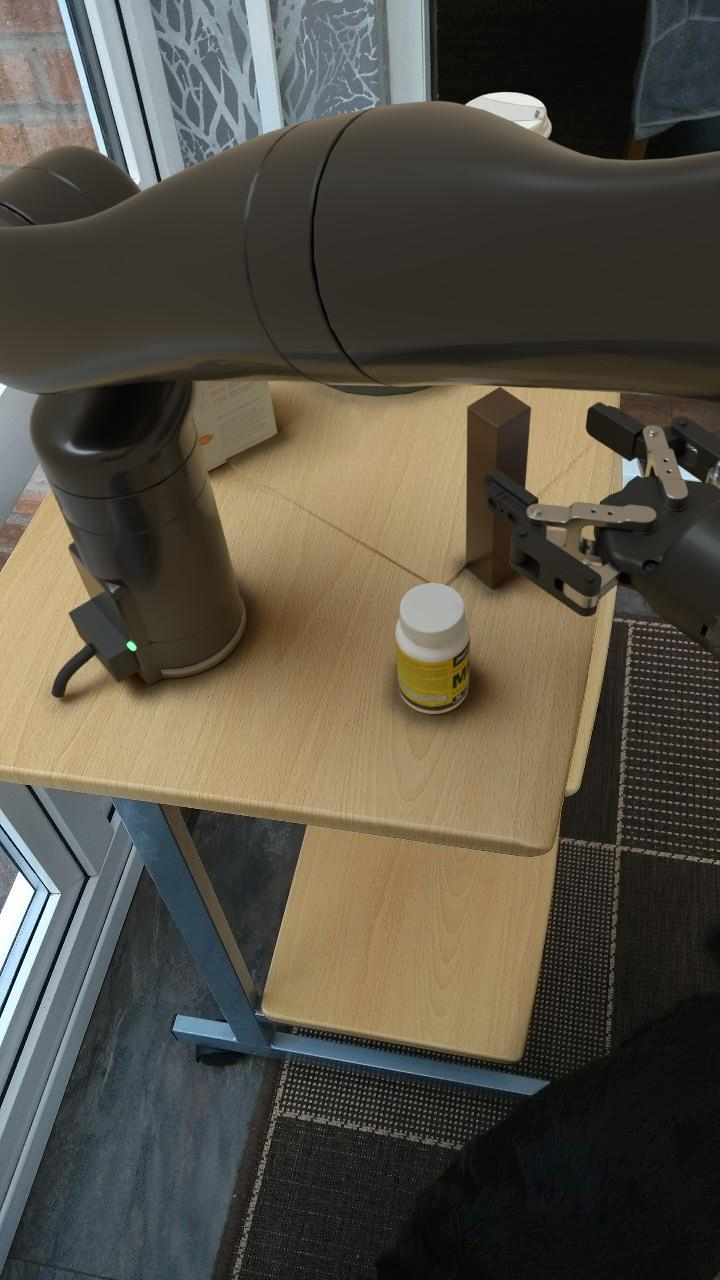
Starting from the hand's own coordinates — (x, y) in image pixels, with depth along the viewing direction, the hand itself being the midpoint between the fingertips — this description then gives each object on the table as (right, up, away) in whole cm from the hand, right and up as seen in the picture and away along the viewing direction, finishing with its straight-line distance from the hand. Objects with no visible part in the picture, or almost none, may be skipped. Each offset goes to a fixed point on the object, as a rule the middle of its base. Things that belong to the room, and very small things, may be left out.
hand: (540, 448), depth 61 cm
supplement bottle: (-6, -15, +7) cm, 17 cm away
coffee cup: (+2, +23, +36) cm, 43 cm away
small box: (-23, +5, +24) cm, 33 cm away
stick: (-1, -6, +13) cm, 14 cm away
